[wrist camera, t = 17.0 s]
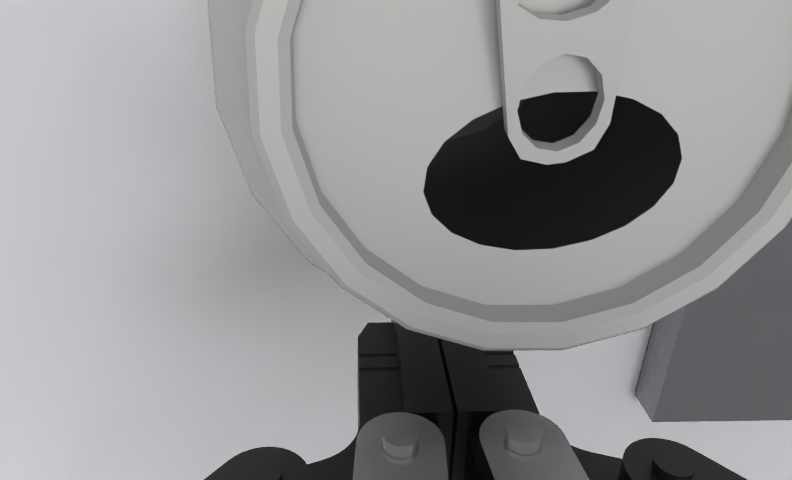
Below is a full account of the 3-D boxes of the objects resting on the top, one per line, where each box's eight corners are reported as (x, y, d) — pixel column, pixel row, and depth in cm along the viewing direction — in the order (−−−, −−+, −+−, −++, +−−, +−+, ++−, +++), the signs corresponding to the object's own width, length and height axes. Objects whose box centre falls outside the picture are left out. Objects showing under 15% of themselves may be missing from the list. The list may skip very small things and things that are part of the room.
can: (314, 149, 18) (263, 446, 7) (262, -145, 15) (33, -382, 4) (563, 117, 18) (871, 365, 7) (566, -183, 15) (1120, -508, 4)
